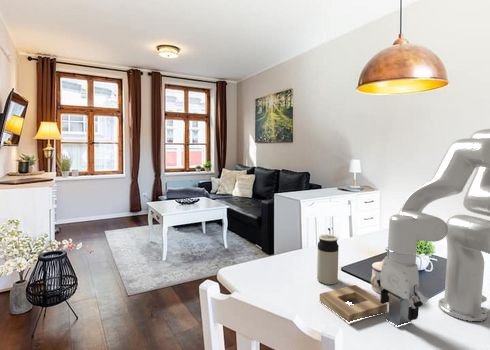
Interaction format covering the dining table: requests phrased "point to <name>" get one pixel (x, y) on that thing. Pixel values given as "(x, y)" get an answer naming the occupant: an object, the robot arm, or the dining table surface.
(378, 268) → the teacup with lid
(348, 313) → the well block
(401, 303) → the upright grey block
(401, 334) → the dining table surface
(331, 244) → the travel mug
